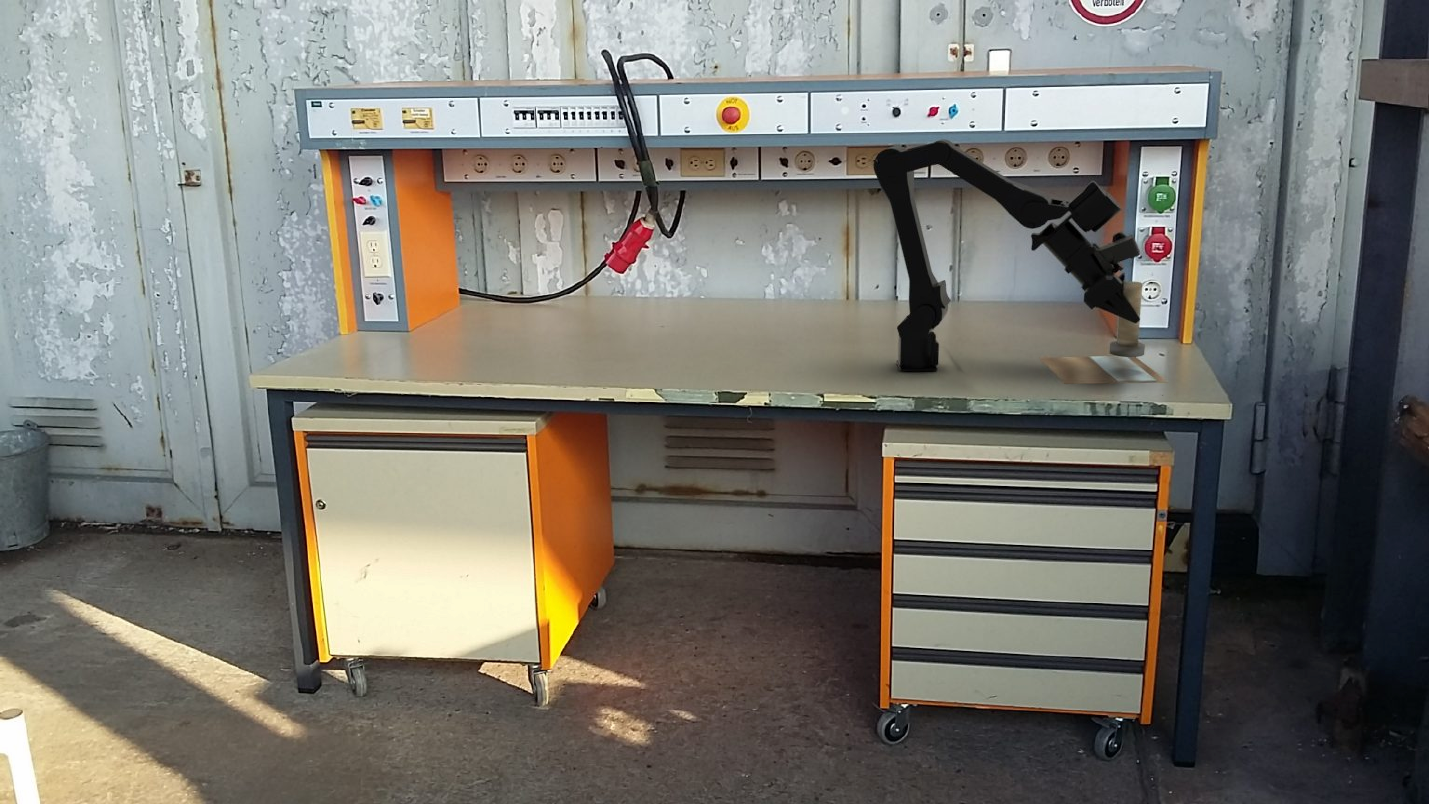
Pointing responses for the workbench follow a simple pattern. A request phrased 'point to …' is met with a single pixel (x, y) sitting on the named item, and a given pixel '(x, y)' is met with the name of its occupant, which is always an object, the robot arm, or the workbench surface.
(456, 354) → the workbench surface
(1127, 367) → the board
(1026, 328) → the workbench surface
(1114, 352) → the post
